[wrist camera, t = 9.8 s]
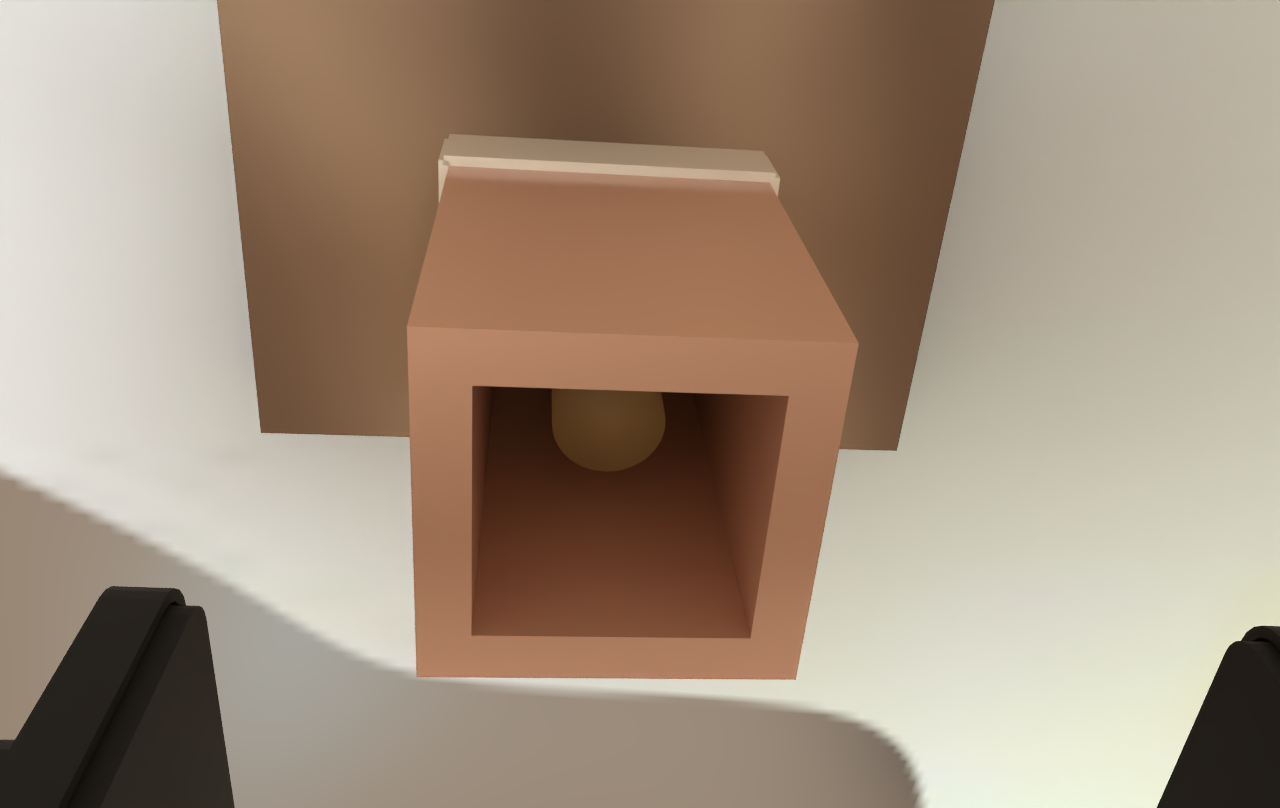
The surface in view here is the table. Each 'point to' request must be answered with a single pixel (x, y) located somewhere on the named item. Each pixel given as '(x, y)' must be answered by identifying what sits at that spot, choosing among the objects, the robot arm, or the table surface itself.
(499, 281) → the sleeve
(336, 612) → the table surface
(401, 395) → the pin board
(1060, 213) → the table surface
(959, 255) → the table surface
